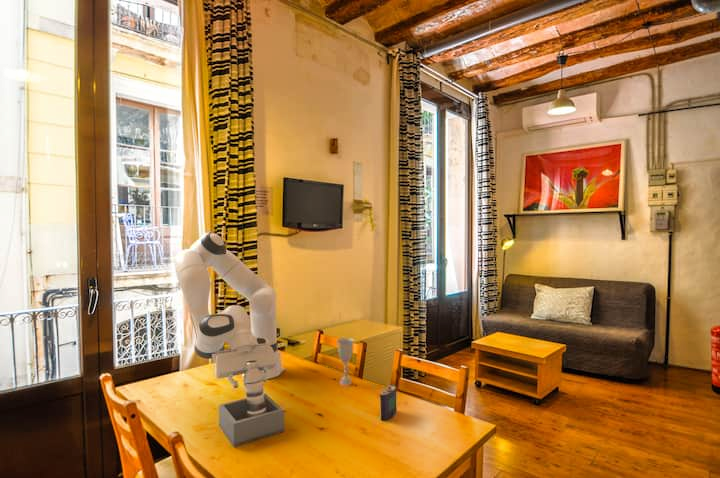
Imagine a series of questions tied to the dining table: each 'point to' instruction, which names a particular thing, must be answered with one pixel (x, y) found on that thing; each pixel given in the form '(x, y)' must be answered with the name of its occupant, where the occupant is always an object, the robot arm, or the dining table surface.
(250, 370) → the plastic bottle
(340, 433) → the dining table surface
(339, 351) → the chalice
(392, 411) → the hip flask
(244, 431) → the bin
